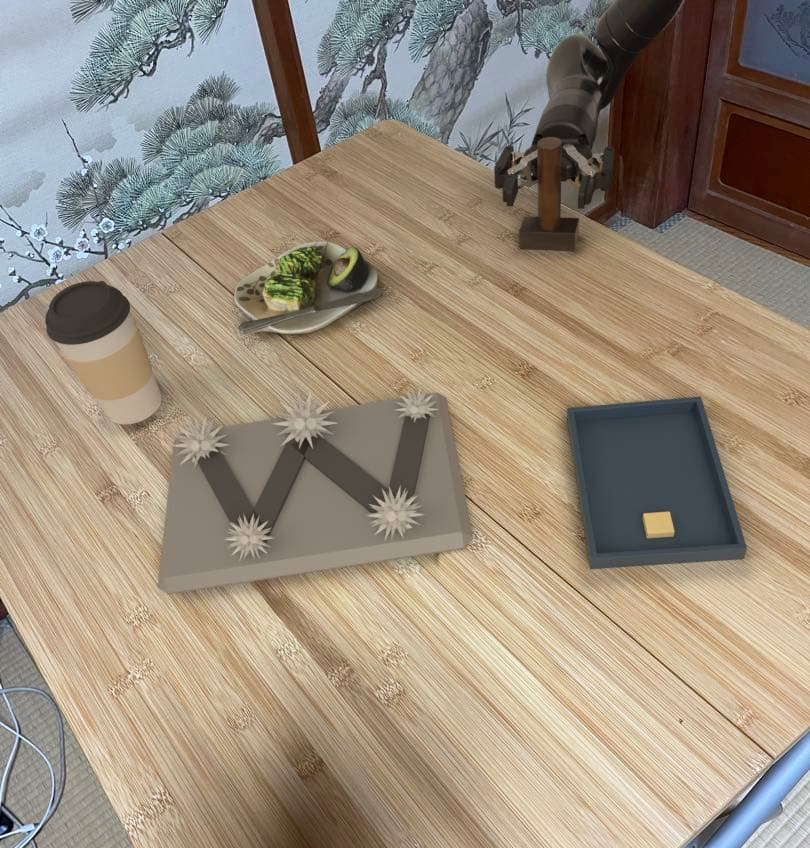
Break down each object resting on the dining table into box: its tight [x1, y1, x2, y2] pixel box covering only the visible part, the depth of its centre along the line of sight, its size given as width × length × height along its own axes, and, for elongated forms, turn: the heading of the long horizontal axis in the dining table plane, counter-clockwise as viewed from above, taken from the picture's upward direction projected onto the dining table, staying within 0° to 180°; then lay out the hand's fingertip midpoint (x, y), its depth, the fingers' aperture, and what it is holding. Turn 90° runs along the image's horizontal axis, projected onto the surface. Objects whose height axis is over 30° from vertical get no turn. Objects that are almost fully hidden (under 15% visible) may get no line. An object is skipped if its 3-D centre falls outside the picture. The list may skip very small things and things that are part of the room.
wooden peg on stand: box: [518, 137, 580, 252], centre depth 102 cm, size 4×7×13 cm, turn 74°
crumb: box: [643, 512, 675, 538], centre depth 76 cm, size 2×2×1 cm
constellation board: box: [157, 386, 474, 595], centre depth 82 cm, size 30×22×7 cm
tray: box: [566, 396, 748, 570], centre depth 79 cm, size 19×13×2 cm
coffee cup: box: [44, 280, 163, 426], centre depth 92 cm, size 9×9×15 cm
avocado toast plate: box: [233, 240, 386, 335], centre depth 104 cm, size 19×18×5 cm
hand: (544, 200), depth 99 cm, fingers open, 8 cm apart
